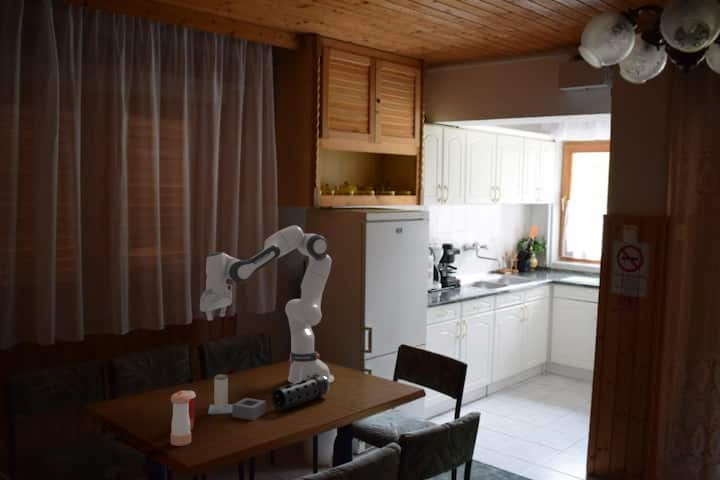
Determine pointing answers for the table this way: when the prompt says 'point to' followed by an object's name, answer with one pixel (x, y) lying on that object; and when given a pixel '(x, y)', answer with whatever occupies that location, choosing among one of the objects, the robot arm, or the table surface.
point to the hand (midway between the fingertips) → (216, 318)
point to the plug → (221, 392)
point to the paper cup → (191, 407)
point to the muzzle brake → (300, 392)
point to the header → (249, 409)
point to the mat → (226, 411)
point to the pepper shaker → (180, 419)
